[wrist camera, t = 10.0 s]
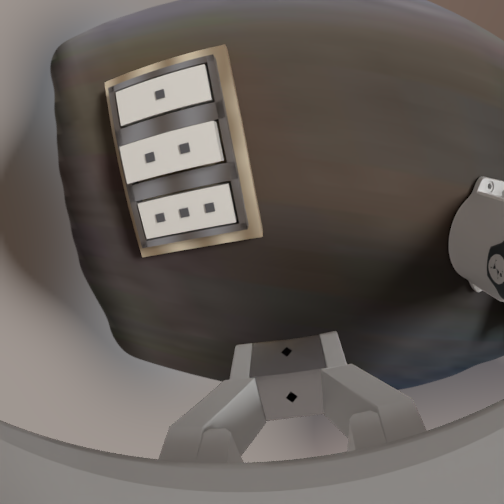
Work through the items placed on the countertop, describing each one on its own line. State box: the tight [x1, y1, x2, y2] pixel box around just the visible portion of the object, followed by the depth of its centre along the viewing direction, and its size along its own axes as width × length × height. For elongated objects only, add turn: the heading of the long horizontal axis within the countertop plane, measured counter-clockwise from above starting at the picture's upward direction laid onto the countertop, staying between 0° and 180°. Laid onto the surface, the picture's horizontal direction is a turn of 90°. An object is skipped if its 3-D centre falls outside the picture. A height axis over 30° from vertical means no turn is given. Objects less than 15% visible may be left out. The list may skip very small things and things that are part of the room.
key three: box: [138, 182, 238, 239], centre depth 35 cm, size 11×4×2 cm, turn 101°
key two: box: [119, 121, 224, 184], centre depth 31 cm, size 11×4×2 cm, turn 101°
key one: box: [116, 64, 214, 127], centre depth 30 cm, size 11×4×2 cm, turn 101°
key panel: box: [105, 45, 263, 257], centre depth 34 cm, size 16×24×4 cm, turn 11°
